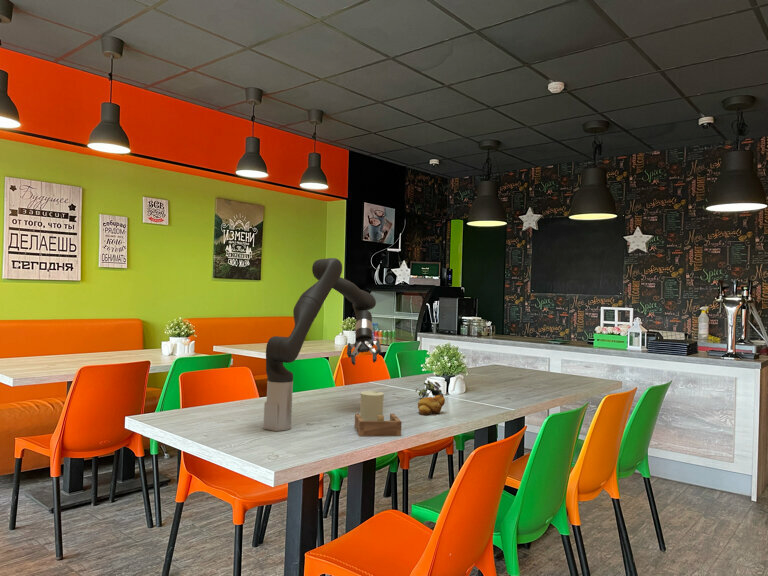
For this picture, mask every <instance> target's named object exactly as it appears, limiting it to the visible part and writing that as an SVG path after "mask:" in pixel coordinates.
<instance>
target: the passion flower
mask: <svg viewBox="0 0 768 576" xmlns="http://www.w3.org/2000/svg"><path fill="white" fill-rule="evenodd" d="M423 384H424V385H425V388H424V389H422V390H420V389H419V388H416V389H415V393H417V391H419V392H418V397H420V398H421V397H422V398H426V397H430V396H429V395H430V393H431V395H432V396H433V397H434V396H438V395H443V396H444V393H443V392H442V389H440V388H441V387H442V386H441V384H440V383H439V382H437V381H434V383H433V382H432V381H430V380H427V381H426V382H425V381H423ZM428 391H429V392H428ZM422 398H421V399H422Z"/></svg>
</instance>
